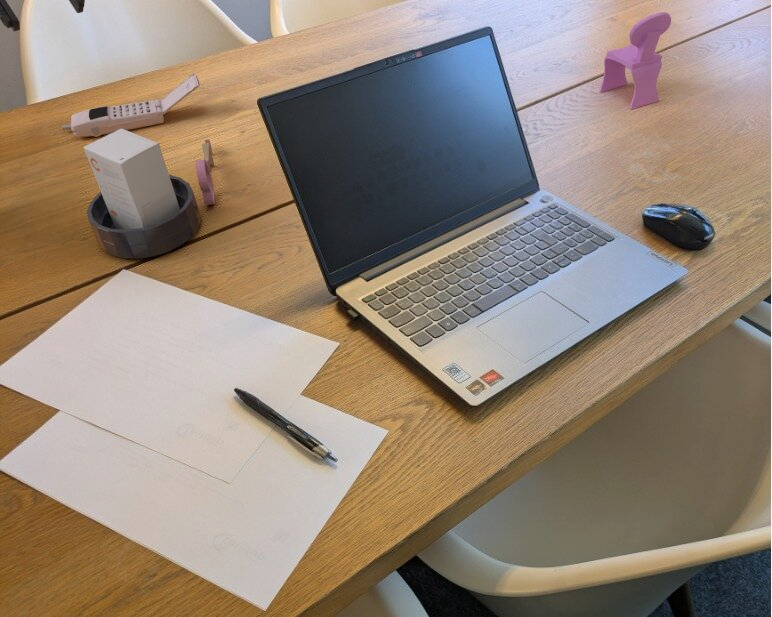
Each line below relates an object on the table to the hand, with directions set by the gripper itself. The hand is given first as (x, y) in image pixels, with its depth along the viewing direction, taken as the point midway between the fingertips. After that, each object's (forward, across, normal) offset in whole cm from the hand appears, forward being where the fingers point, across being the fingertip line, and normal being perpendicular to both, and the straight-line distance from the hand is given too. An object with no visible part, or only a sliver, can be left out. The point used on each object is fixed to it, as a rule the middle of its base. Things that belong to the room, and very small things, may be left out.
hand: (50, 18), depth 85 cm
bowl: (+28, -2, +8) cm, 30 cm away
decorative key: (+24, +12, +13) cm, 30 cm away
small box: (+28, -2, +8) cm, 29 cm away
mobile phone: (+6, +13, +31) cm, 34 cm away
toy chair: (+48, +78, -12) cm, 93 cm away
